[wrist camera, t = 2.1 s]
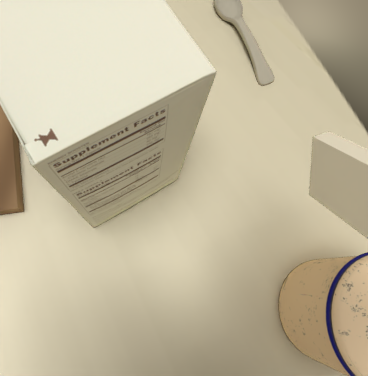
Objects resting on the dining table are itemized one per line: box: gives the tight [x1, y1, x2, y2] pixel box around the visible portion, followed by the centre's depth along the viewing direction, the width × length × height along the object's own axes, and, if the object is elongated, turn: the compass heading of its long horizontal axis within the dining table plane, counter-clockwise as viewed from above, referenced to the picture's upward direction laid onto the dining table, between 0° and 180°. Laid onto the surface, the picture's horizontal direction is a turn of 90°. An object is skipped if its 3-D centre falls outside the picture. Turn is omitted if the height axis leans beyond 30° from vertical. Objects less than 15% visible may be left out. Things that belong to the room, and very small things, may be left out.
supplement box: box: [0, 0, 217, 227], centre depth 22 cm, size 10×9×17 cm
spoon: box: [214, 0, 274, 86], centre depth 36 cm, size 3×12×2 cm, turn 25°
